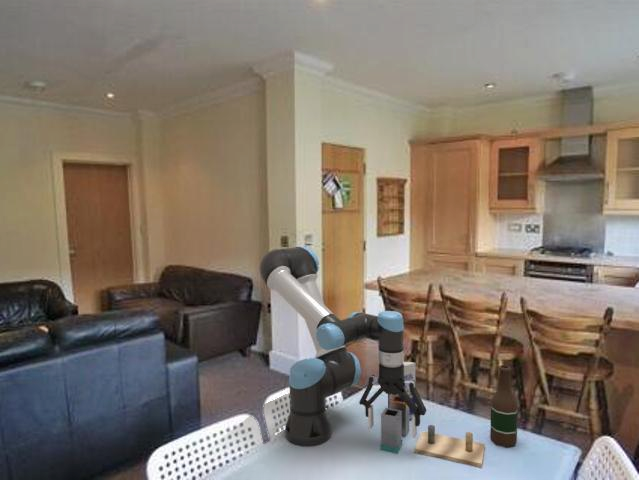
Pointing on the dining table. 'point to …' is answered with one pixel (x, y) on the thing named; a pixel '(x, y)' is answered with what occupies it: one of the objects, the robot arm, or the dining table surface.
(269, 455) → the dining table surface
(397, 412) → the grey rectangular box
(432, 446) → the pin board
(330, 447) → the dining table surface
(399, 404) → the sleeve rust
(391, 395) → the milk carton
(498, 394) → the beer bottle
